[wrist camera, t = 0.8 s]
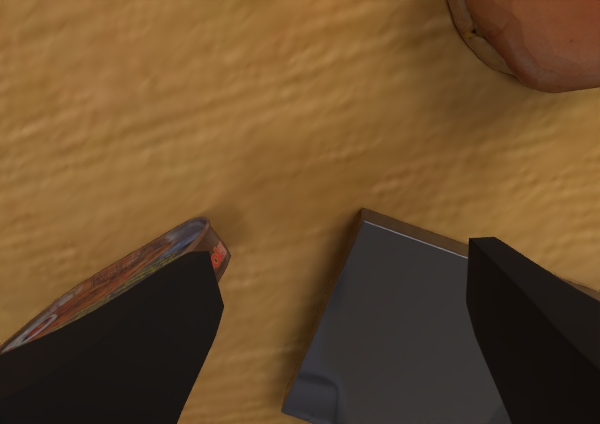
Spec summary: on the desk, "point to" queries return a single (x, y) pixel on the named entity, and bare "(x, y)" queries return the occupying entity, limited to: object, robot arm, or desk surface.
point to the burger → (535, 40)
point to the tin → (124, 278)
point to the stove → (395, 336)
